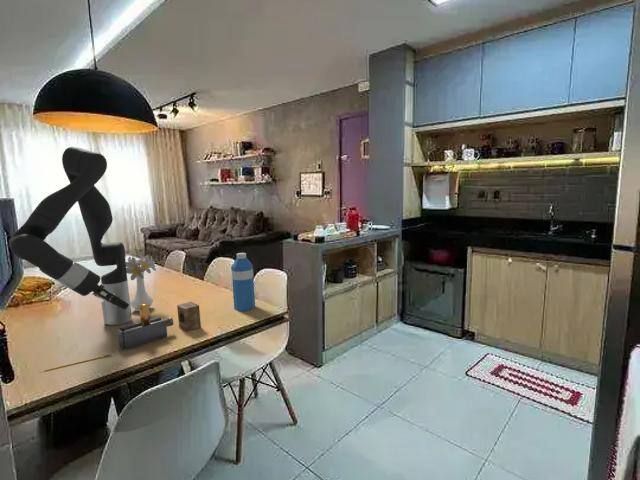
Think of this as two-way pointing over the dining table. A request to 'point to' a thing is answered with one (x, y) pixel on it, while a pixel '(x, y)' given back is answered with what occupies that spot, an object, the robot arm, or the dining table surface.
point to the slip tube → (146, 316)
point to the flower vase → (140, 279)
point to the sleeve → (141, 334)
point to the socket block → (189, 316)
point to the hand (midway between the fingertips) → (123, 304)
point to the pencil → (78, 362)
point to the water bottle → (243, 283)
